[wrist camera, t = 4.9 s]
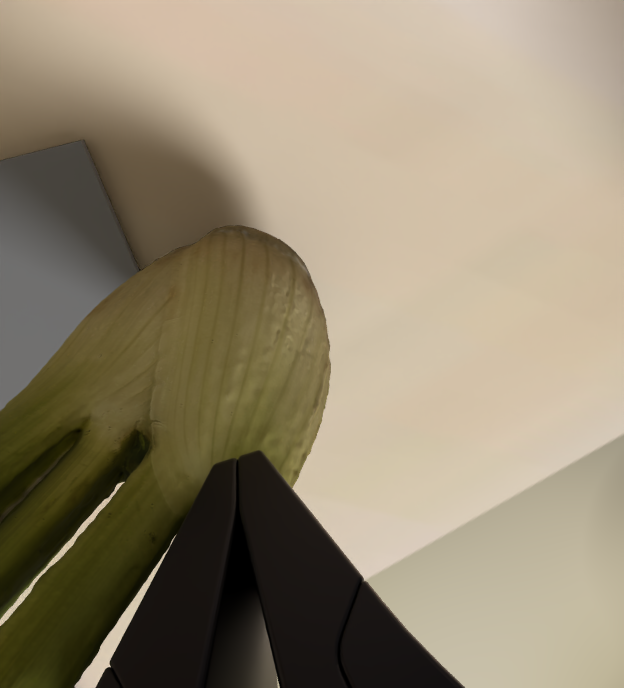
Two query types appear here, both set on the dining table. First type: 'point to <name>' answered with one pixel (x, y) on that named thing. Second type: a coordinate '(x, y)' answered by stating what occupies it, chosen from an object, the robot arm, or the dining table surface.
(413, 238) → the dining table surface
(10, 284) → the mat
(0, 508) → the fennel bulb
